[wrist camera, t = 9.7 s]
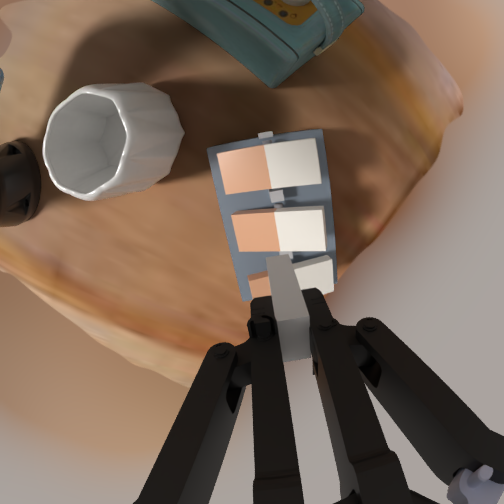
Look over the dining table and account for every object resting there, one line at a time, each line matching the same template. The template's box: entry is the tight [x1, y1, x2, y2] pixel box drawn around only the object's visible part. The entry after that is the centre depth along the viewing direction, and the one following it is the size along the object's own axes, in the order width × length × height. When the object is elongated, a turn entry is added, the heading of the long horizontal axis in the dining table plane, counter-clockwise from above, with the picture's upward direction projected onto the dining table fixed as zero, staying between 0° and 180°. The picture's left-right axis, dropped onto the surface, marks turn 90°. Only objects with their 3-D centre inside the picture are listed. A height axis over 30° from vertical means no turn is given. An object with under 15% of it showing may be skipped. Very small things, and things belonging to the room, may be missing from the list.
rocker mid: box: [231, 202, 327, 252], centre depth 30 cm, size 10×5×2 cm, turn 101°
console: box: [206, 129, 337, 301], centre depth 34 cm, size 13×21×8 cm, turn 11°
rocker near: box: [217, 138, 322, 195], centre depth 27 cm, size 10×5×2 cm, turn 101°
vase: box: [43, 82, 185, 201], centre depth 26 cm, size 14×14×15 cm
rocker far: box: [247, 255, 334, 299], centre depth 33 cm, size 10×5×2 cm, turn 101°
